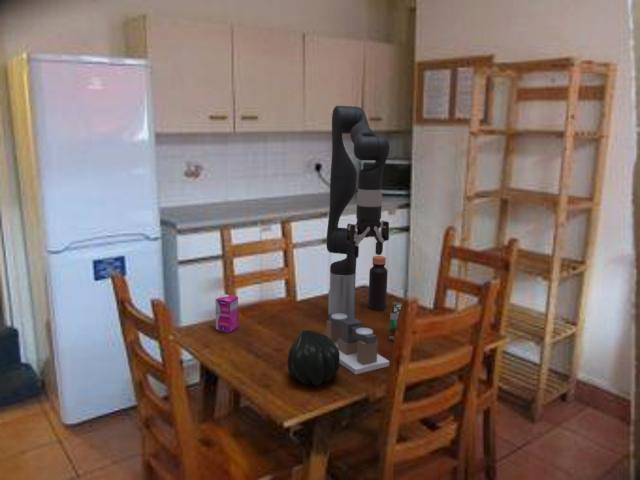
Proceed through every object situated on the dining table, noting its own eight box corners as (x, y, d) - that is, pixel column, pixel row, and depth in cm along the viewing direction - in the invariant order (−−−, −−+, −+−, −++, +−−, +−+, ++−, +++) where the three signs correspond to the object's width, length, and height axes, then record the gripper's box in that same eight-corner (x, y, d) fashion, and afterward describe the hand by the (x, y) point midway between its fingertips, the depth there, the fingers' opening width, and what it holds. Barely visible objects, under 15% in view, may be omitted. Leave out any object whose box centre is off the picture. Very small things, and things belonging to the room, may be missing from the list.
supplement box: (215, 330, 190) (214, 298, 188) (224, 325, 196) (224, 293, 193) (230, 333, 188) (229, 301, 186) (239, 327, 193) (238, 295, 191)
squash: (358, 363, 155) (331, 316, 159) (320, 383, 144) (293, 331, 148) (330, 381, 164) (306, 336, 168) (293, 401, 154) (268, 352, 158)
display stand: (314, 344, 180) (314, 321, 179) (345, 337, 186) (346, 315, 185) (355, 374, 160) (356, 348, 158) (389, 366, 166) (390, 340, 164)
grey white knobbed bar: (378, 351, 164) (379, 332, 163) (364, 354, 162) (365, 335, 160) (338, 326, 183) (339, 309, 181) (325, 329, 180) (326, 311, 179)
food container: (407, 344, 182) (409, 315, 180) (388, 342, 183) (390, 313, 181) (409, 330, 194) (411, 303, 192) (391, 328, 195) (393, 301, 193)
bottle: (365, 305, 219) (367, 255, 215) (382, 304, 220) (384, 254, 216) (371, 311, 212) (373, 260, 208) (388, 310, 214) (390, 259, 210)
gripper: (356, 207, 162) (354, 261, 166) (395, 204, 169) (393, 256, 173) (342, 203, 169) (341, 255, 172) (381, 200, 176) (378, 250, 179)
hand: (367, 255), depth 173 cm, fingers open, 8 cm apart
